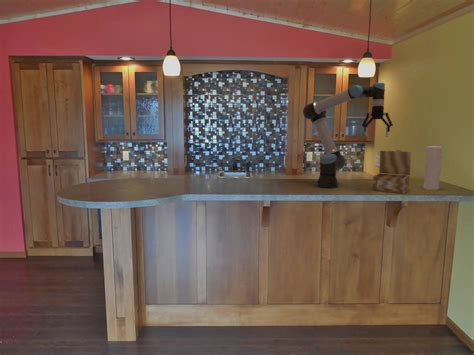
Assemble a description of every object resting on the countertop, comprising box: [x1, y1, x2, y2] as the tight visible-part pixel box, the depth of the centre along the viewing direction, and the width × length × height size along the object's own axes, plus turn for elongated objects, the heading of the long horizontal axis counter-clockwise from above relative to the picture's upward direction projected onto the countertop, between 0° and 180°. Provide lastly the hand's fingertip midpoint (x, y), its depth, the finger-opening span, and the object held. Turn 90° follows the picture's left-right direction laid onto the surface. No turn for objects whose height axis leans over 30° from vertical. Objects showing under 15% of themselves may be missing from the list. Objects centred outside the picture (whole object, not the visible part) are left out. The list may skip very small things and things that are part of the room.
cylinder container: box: [423, 145, 443, 191], centre depth 241 cm, size 9×9×30 cm
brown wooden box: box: [371, 173, 410, 194], centre depth 239 cm, size 20×16×10 cm
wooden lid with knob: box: [378, 149, 412, 176], centre depth 248 cm, size 20×16×14 cm
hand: (376, 136), depth 243 cm, fingers open, 13 cm apart
